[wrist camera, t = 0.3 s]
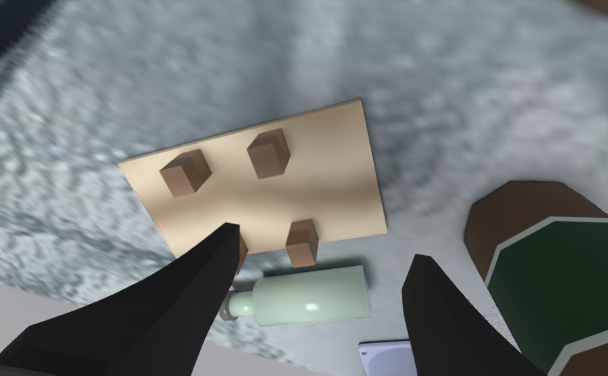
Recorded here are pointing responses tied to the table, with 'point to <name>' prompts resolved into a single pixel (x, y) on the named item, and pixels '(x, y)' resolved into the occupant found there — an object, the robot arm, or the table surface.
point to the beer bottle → (546, 273)
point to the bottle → (302, 298)
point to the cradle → (267, 185)
